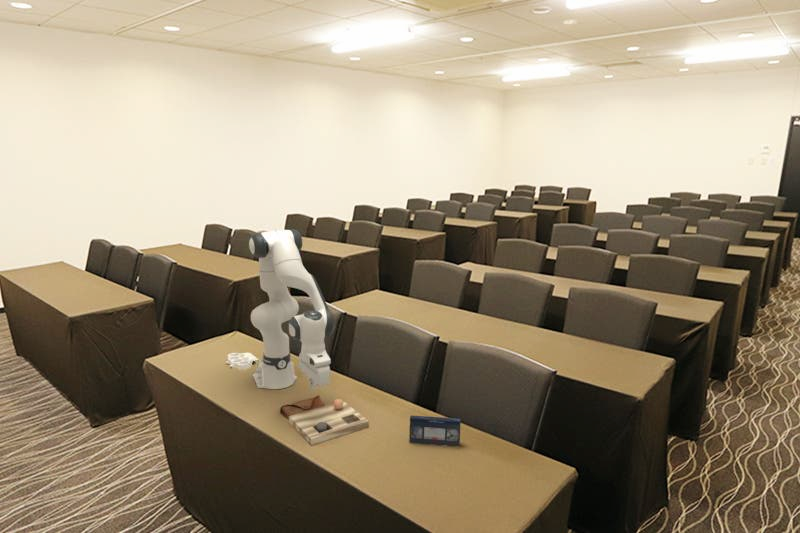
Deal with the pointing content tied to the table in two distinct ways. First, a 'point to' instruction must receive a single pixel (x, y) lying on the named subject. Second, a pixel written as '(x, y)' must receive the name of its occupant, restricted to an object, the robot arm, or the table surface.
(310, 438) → the hole board
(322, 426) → the charcoal ball
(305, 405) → the sunglasses case
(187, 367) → the table surface
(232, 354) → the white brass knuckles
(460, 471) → the table surface
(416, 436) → the vhs cassette tape
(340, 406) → the terracotta ball
